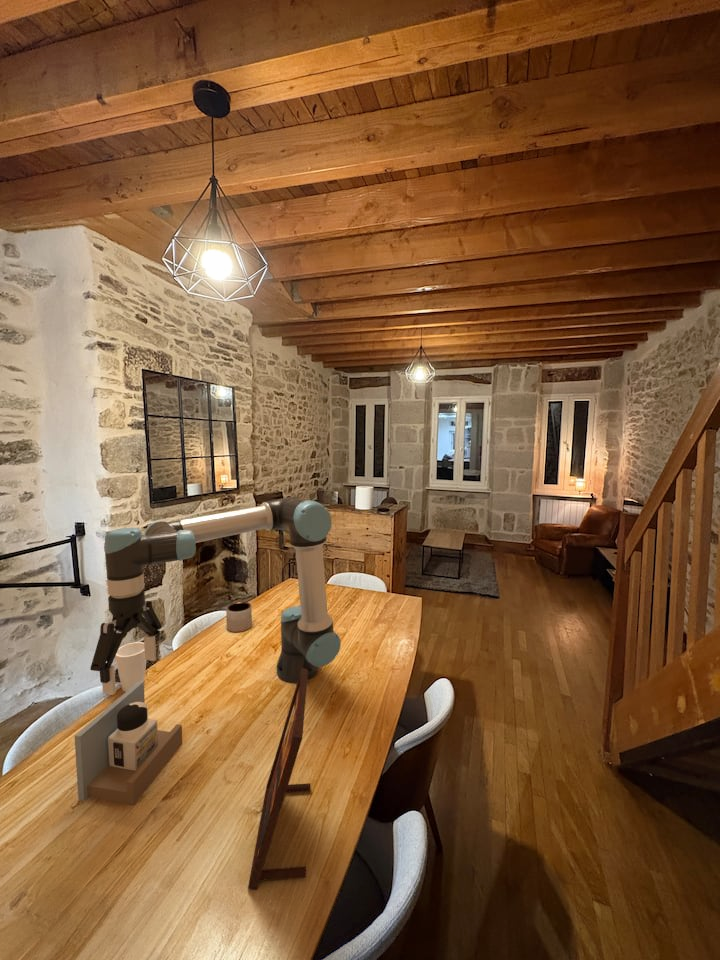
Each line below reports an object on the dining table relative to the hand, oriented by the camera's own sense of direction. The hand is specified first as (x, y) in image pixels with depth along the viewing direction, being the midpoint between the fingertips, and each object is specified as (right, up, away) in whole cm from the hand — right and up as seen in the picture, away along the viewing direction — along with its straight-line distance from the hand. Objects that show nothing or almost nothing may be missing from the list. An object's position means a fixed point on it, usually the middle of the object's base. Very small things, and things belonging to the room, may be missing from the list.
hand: (131, 675), depth 93 cm
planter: (+2, -18, +76) cm, 78 cm away
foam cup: (-20, -22, +34) cm, 45 cm away
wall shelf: (0, -25, +2) cm, 25 cm away
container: (0, -22, +2) cm, 22 cm away
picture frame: (+40, -27, -13) cm, 50 cm away
